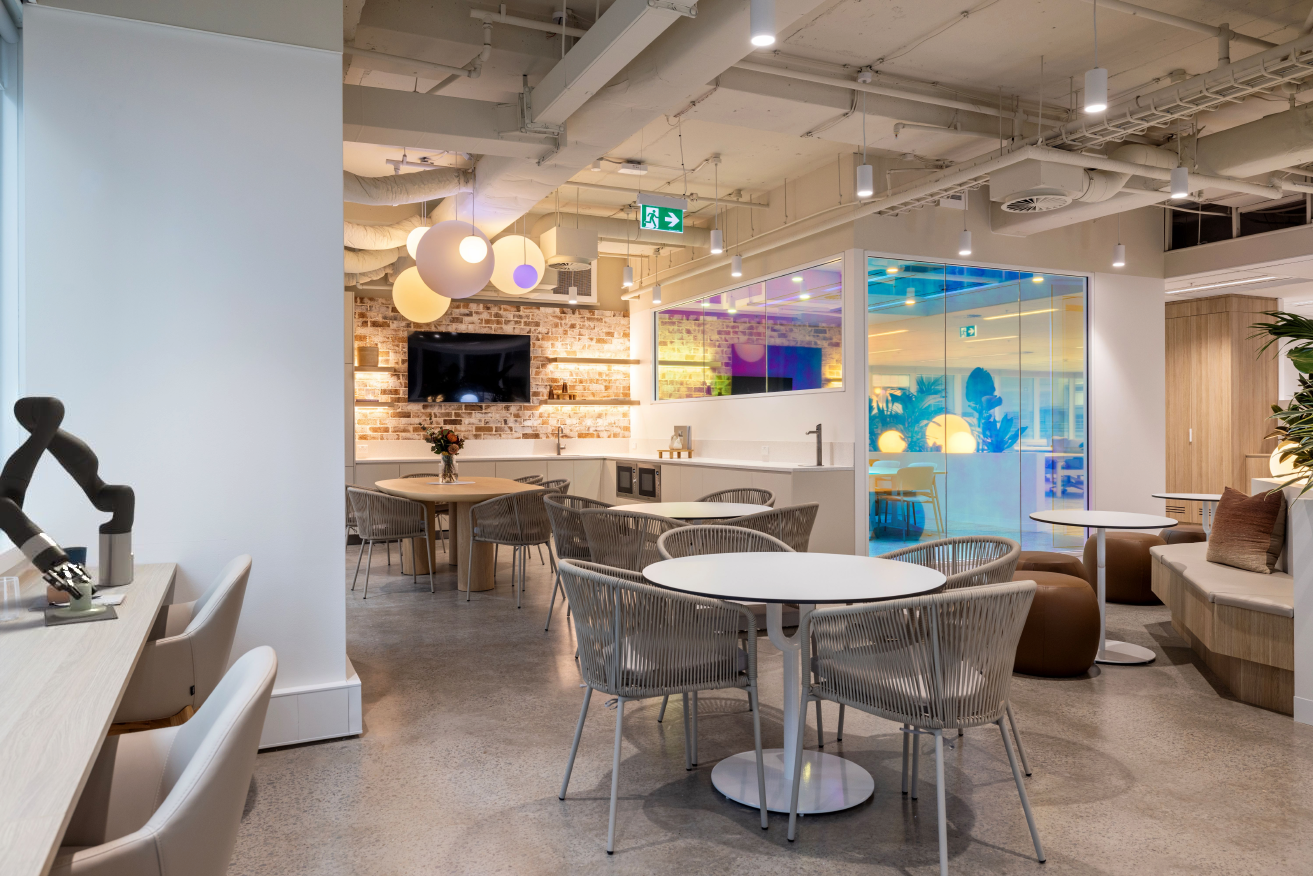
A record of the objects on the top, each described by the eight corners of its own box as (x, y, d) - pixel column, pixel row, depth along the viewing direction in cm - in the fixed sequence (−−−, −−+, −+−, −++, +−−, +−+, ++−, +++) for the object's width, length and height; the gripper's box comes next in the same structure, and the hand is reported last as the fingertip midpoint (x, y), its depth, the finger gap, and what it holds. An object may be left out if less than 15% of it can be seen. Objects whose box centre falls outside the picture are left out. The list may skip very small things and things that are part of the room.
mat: (45, 610, 239) (45, 609, 239) (111, 604, 248) (111, 602, 248) (46, 626, 221) (46, 624, 221) (118, 618, 231) (118, 617, 231)
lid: (79, 608, 242) (79, 580, 241) (116, 609, 240) (116, 581, 240) (43, 617, 230) (43, 587, 230) (82, 619, 228) (82, 589, 228)
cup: (92, 594, 262) (92, 547, 261) (74, 598, 255) (75, 550, 255) (72, 593, 262) (72, 546, 262) (54, 598, 256) (54, 549, 255)
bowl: (68, 598, 255) (68, 580, 255) (100, 600, 253) (100, 582, 253) (37, 606, 244) (37, 587, 244) (70, 608, 243) (70, 589, 242)
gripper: (36, 547, 227) (80, 591, 228) (71, 540, 241) (113, 581, 242) (16, 566, 227) (60, 610, 228) (52, 558, 241) (94, 599, 242)
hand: (87, 595), depth 235 cm, fingers open, 5 cm apart
